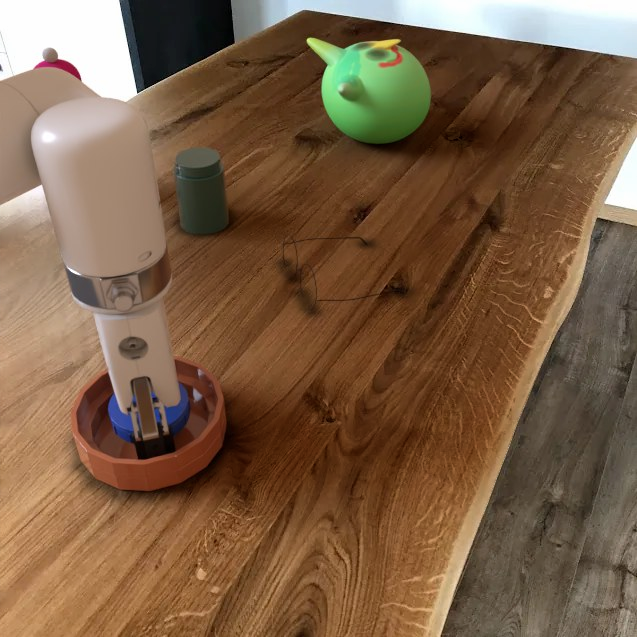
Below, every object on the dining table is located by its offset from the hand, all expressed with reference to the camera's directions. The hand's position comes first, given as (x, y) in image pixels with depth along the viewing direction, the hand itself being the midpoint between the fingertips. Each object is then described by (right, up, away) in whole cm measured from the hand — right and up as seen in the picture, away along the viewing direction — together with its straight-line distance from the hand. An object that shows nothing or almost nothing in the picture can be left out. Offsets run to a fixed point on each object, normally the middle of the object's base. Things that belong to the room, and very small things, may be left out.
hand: (153, 428), depth 66 cm
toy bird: (+23, +38, +48) cm, 66 cm away
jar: (0, +22, +28) cm, 36 cm away
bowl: (0, -1, +1) cm, 1 cm away
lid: (0, +2, -2) cm, 3 cm away
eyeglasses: (+17, +14, +19) cm, 30 cm away
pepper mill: (-17, +27, +34) cm, 47 cm away
